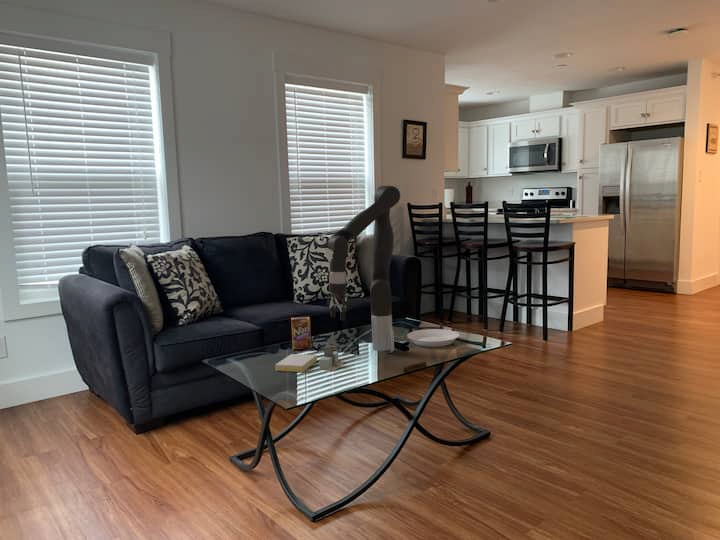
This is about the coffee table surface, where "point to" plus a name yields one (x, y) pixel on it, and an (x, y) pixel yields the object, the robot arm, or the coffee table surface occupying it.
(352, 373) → the coffee table surface
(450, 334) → the white plate
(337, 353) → the block
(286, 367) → the block
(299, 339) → the candy box
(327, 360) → the block
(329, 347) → the tan boxy piece
